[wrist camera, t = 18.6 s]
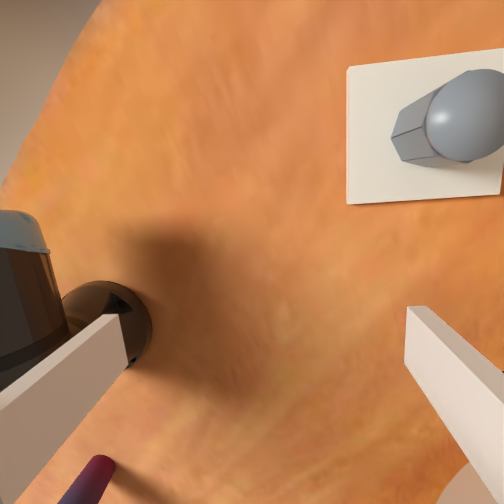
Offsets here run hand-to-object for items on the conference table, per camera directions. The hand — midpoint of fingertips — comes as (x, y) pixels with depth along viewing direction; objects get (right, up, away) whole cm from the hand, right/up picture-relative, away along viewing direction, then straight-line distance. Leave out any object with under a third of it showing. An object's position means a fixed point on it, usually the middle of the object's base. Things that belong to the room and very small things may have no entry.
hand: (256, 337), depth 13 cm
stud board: (+21, +19, +23) cm, 36 cm away
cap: (+21, +18, +21) cm, 35 cm away
